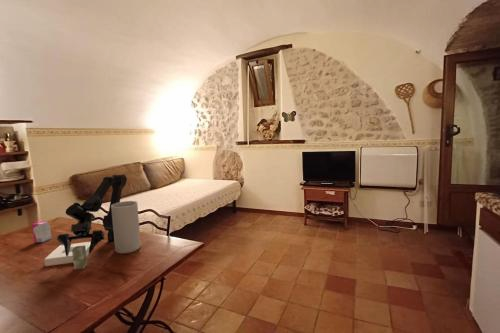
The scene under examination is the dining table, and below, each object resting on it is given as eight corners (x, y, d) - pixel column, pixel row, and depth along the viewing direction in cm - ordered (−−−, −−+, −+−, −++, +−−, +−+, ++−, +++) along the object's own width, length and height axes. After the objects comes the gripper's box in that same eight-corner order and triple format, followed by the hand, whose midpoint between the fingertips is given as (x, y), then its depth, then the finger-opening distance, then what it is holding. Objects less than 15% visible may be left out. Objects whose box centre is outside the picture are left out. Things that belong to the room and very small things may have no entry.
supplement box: (51, 238, 153) (49, 220, 152) (43, 243, 147) (40, 224, 146) (43, 238, 154) (40, 220, 152) (34, 242, 148) (31, 224, 146)
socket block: (94, 247, 140) (93, 241, 139) (83, 261, 124) (82, 254, 124) (60, 251, 136) (59, 245, 135) (45, 266, 120) (44, 259, 120)
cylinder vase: (130, 255, 130) (126, 207, 127) (109, 253, 132) (105, 207, 129) (145, 244, 142) (142, 201, 139) (126, 243, 144) (122, 200, 141)
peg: (87, 264, 121) (85, 245, 120) (84, 268, 117) (81, 248, 116) (77, 265, 120) (75, 246, 119) (74, 269, 116) (72, 250, 115)
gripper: (56, 218, 118) (46, 250, 108) (100, 214, 122) (95, 245, 113) (65, 228, 126) (57, 259, 117) (106, 224, 131) (102, 253, 122)
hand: (78, 254), depth 117 cm, fingers open, 9 cm apart
